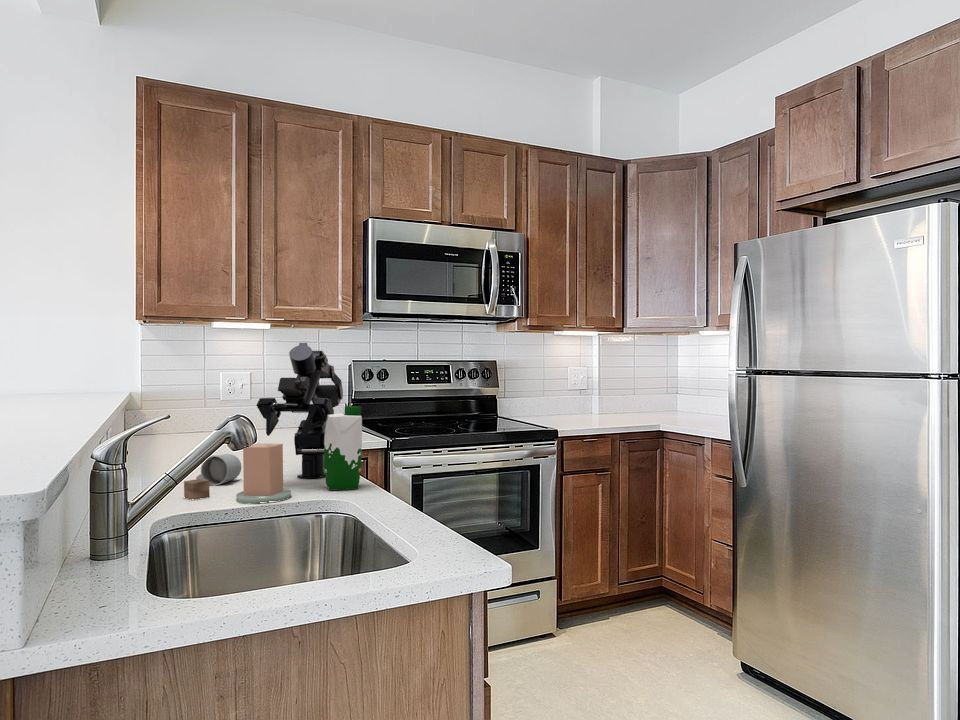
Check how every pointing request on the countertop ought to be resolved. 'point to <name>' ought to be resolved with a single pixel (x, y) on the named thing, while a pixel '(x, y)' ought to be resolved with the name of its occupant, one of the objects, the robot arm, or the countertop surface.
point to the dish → (263, 497)
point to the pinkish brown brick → (263, 469)
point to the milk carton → (343, 449)
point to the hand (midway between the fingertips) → (284, 434)
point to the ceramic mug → (220, 469)
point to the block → (196, 489)
